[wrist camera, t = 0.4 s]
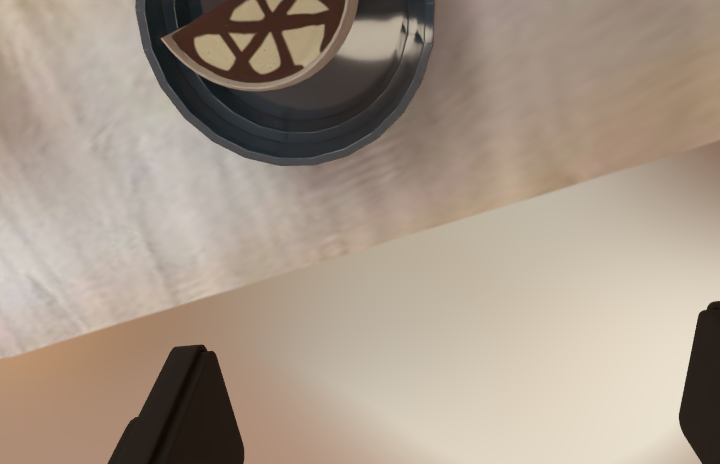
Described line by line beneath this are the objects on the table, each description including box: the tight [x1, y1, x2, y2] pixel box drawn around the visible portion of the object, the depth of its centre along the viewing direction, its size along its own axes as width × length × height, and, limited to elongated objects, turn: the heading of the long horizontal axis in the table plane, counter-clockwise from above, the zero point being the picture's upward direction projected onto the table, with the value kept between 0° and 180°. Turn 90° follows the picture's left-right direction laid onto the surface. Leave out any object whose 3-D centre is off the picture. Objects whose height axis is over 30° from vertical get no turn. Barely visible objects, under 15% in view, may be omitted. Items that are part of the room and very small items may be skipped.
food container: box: [161, 0, 359, 91], centre depth 35 cm, size 12×6×10 cm, turn 120°
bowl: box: [135, 0, 435, 166], centre depth 37 cm, size 18×18×6 cm
